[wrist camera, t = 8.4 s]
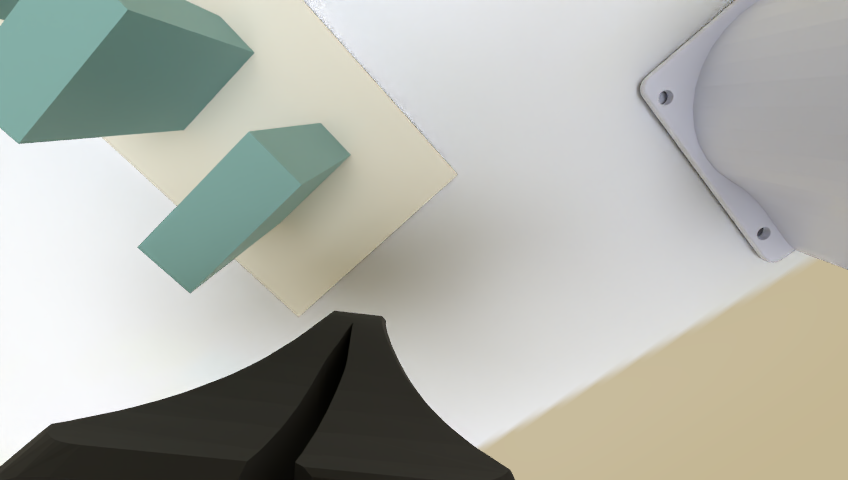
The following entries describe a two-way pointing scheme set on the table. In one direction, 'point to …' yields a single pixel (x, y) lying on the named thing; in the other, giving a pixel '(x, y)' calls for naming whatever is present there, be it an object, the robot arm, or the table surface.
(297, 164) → the teal green rectangular block
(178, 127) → the tile
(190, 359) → the table surface
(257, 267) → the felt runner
